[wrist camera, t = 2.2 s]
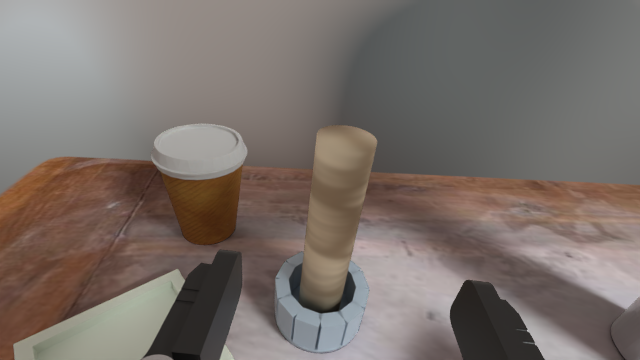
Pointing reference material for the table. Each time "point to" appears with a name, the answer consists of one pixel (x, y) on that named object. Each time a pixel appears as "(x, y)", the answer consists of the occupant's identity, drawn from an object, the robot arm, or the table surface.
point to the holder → (311, 326)
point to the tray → (110, 327)
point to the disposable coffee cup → (202, 178)
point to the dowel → (334, 213)
